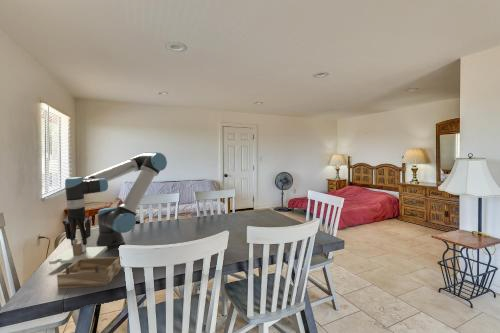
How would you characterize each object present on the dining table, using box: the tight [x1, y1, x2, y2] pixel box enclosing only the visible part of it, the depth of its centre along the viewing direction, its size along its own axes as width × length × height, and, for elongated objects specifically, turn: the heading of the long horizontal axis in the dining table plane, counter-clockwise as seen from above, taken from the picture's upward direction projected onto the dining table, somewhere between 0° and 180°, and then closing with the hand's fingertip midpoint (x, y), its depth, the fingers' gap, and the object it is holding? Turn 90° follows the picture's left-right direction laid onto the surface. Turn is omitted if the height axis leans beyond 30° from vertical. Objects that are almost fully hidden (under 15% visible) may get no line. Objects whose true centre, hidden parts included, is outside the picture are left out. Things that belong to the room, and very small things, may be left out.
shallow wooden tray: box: [56, 256, 123, 289], centre depth 117 cm, size 16×20×8 cm
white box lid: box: [48, 239, 108, 265], centre depth 133 cm, size 16×20×8 cm
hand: (79, 251), depth 133 cm, fingers closed on white box lid, 3 cm apart
